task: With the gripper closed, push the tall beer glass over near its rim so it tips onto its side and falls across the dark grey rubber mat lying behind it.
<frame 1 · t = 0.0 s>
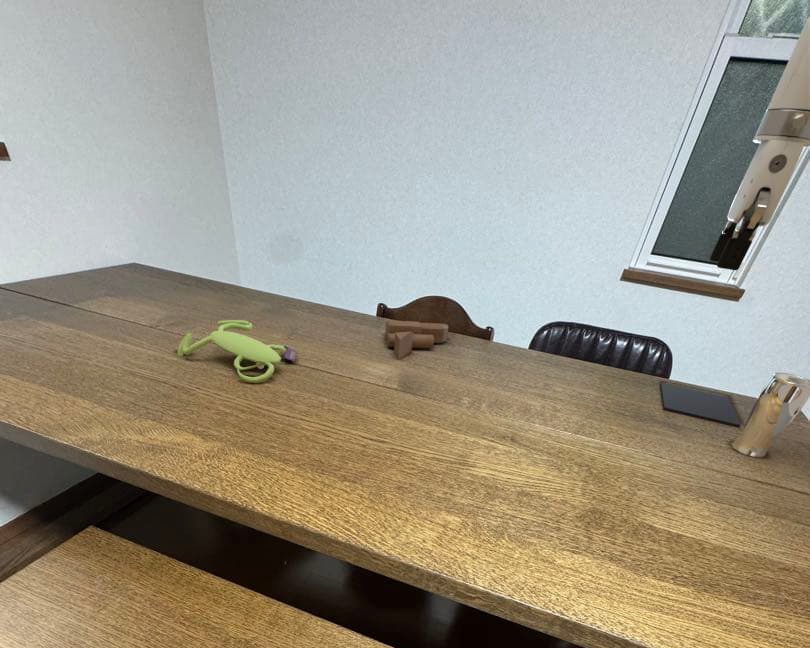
hand: (722, 264, 77), 29 cm above the table, tool pointing down, fingers open, 9 cm apart
figurine: (240, 360, 102), on the table
wooden block set: (420, 350, 119), on the table
mat: (696, 404, 108), on the table
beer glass: (745, 454, 90), on the table
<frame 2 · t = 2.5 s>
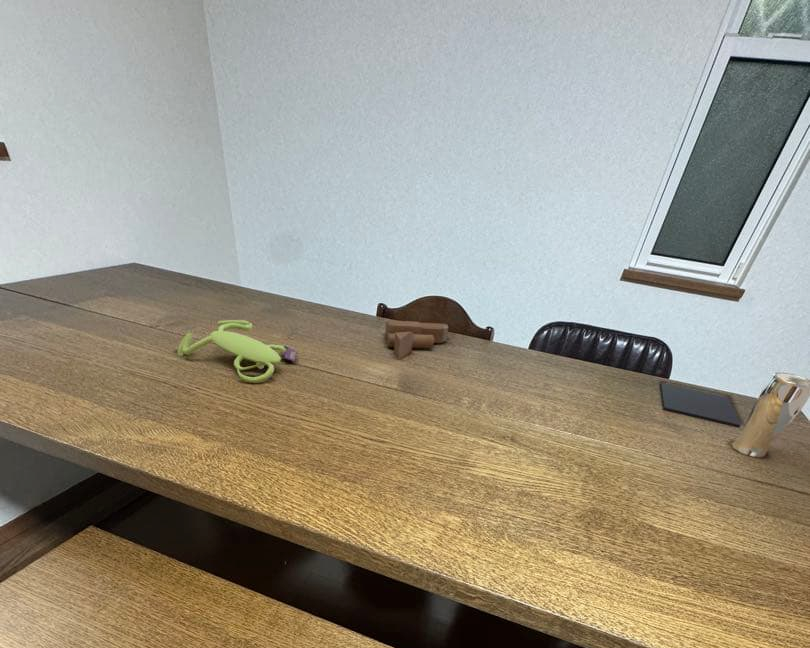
nothing on the table moved.
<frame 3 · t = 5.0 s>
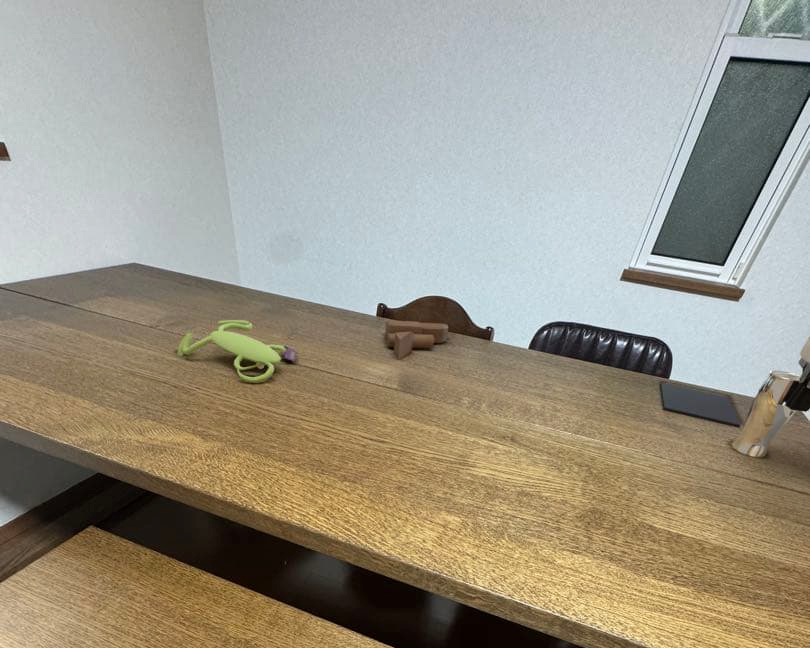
hand: (795, 408, 79), 12 cm above the table, tool pointing down, fingers closed
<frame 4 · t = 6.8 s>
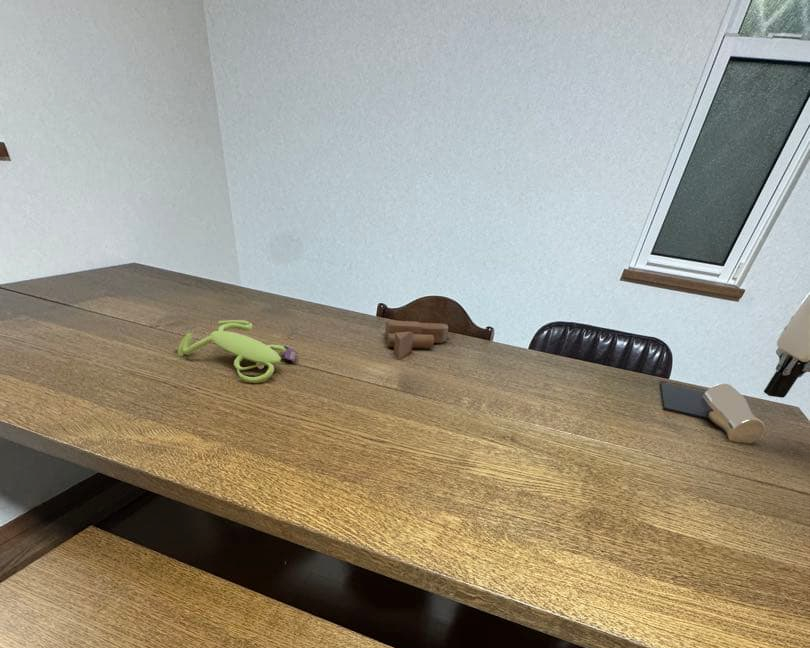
hand: (773, 394, 84), 11 cm above the table, tool pointing down, fingers closed
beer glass: (747, 433, 90), point 3 cm above the table, touching mat
everything else where it was.
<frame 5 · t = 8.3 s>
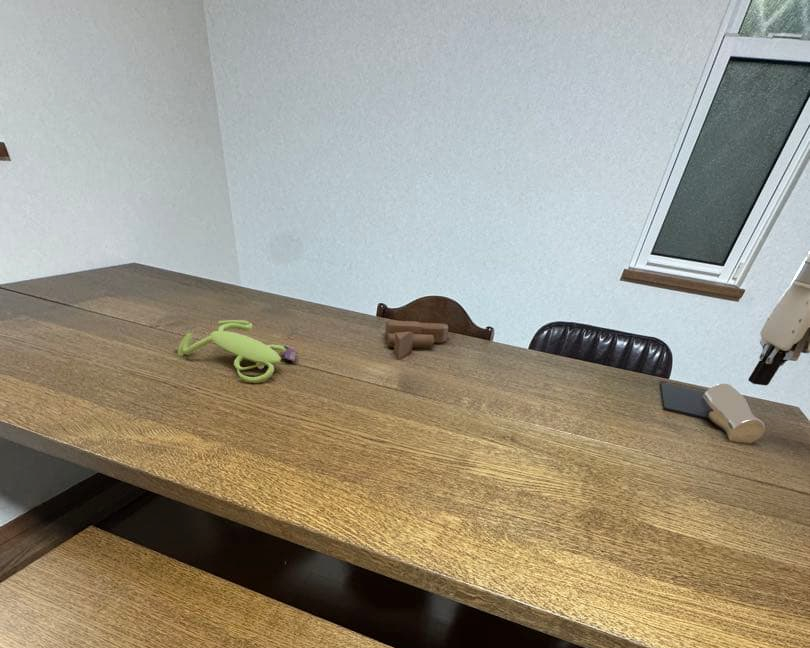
hand: (757, 382, 89), 11 cm above the table, tool pointing down, fingers closed
nothing on the table moved.
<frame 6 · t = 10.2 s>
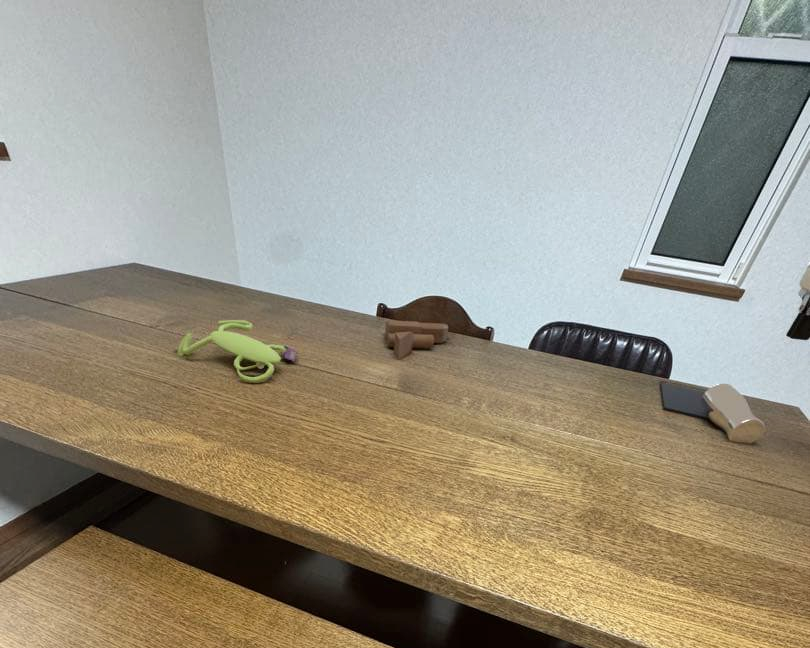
hand: (796, 338, 81), 20 cm above the table, tool pointing down, fingers closed
nothing on the table moved.
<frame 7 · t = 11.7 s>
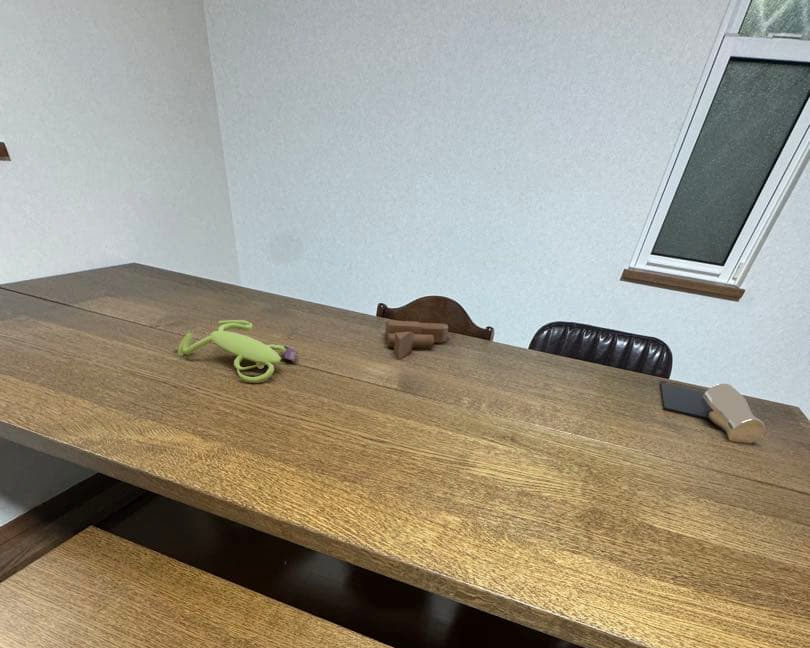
nothing on the table moved.
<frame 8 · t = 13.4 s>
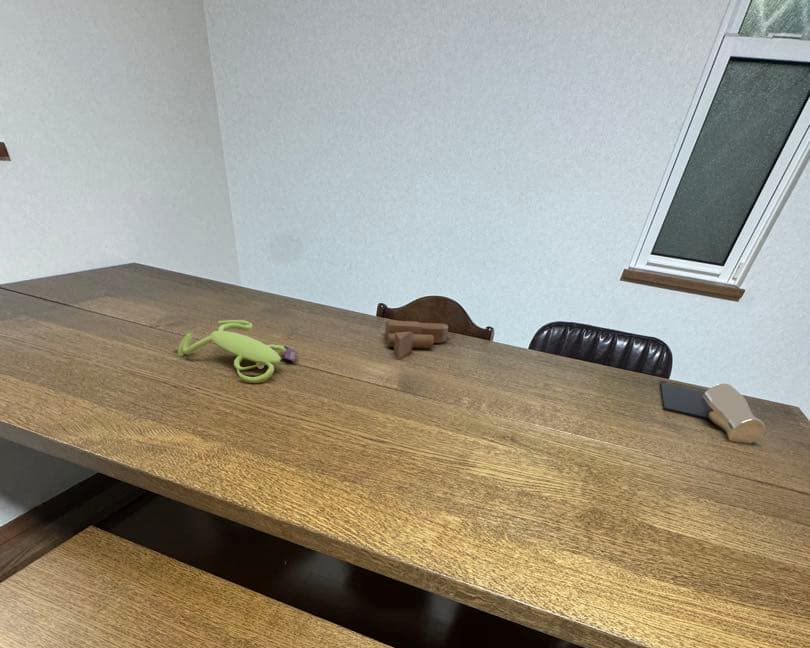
nothing on the table moved.
at the end: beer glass tilted 85°; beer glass touching mat, table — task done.
